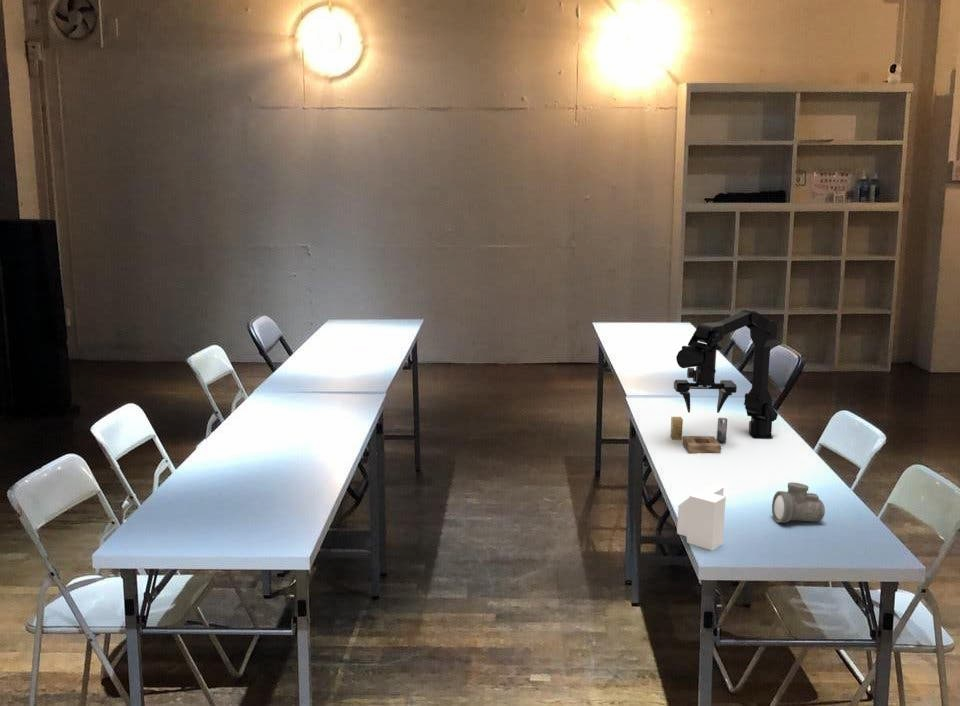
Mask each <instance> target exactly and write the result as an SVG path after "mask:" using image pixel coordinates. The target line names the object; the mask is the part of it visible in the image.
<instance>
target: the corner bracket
mask: <svg viewBox="0 0 960 706" xmlns="http://www.w3.org/2000/svg"><path fill="white" fill-rule="evenodd" d="M726 500H727V497H726V496H724V487H722V486H718V485H714V484H709V485H707V486H705V487H703V488H702V489H700V490H698V491H696V492H694V493H692V494H691V495H689V497H688V498H687V499H685V500H684V501H683V502H681V503H680V504H679V505H677V506H678V508H677V510H678V511H677V524H676V526H677V527H676V534H677V535H681V536H683V537H687V538H686V543H687V544H689V545H693V546H696V547H699V548H700V547H701V548H703V549H705V550H710V551H714V550H715V549H717V548H718V547H720V546H721V545H723V544H724V529H725V528H724V527H725V513H726Z"/></svg>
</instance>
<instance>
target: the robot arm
mask: <svg viewBox="0 0 960 706" xmlns="http://www.w3.org/2000/svg"><path fill="white" fill-rule="evenodd" d="M744 327H746V328H747V329H748V330H749V336H750V339H751V341H752V343H753V345H754V348H753V365H752V377H751V378H752V381H751V389H750V390H749V391H748V393H747V392H745V394H744V403H743V405H744V409H745V412H746V415H747V417H750V420H749V422H748V434H749V435H750V436H751V437H752V438H753V439H773V435H772V431H773V430H772V429H773V428H772V427H773V422H774V421H776V420H777V418H778V415H779V414H778V412H777V411H776V409H775V408H774V406H773V399H772V395H771V393H770V392H769V388H768V385H769V370H770V359H771V358H770V356H771V346H773V344H774V342H775V341H776V339H777V334H778V330H779V329H778V324H777V323H776V321H774V320H770V319H769V318H766V317H765V316H763V315H761V314H760V313H758V312H757V311H756V310H753V309H742V310H741V311H740V312H737V313H735V314H733V315H731V316H729V317H726V318H723V319H722V320H719V321H717V322H716V321H715V322H705V323H701V324H698V325H697V326H696V329H695V330H694V333H693V334H692V336H691V337H690V340H689V341H688V343H687V345H682V346H681V349H680V350H679V351H678V353H677V355H675V356H676V357H675V358H676V363H677V365H678V367H680V368H681V369H687V371H686V372H687V373H686V375H687V376H686V378H688V379H692V381H693V382H689V381H688V380H687V379H675V380H674V381H673V389H674V390H675V392H676V393H679V394H680V395H681V396H682V398H683V399H684V402H685V407H686V410H687V413H691V393H690V390H718V399H717V403H716V404H717V405H716V413H718V414H719V413H720V411H721V409H722V407H723V406H724V404H725V402H726V401H727V399H728V398H729V396H732V395H733V393H734V394H735V393H737V391H738V390H737V389H738V388H737V384H736V383H735V382H734V381H733V380H731V379H730V380H729V379H728V380H727V379H726V380H725V379H724V380H723V379H721V380H720V382H716V381H715V379H716V372H717V371H716V370H717V369H716V365H717V364H716V363H717V351H721V350H722V347H721V345H719V344H720V342H722V341H723V340H724V339H725V336H727V335H729V334H731V333H733V332H735V331H738V330H740V329H743V328H744ZM694 367H695V368H694Z"/></svg>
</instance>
